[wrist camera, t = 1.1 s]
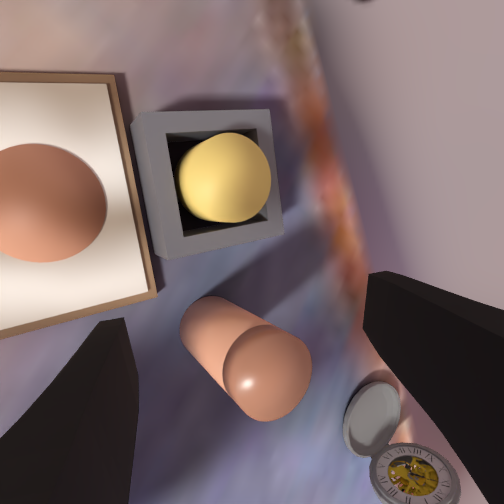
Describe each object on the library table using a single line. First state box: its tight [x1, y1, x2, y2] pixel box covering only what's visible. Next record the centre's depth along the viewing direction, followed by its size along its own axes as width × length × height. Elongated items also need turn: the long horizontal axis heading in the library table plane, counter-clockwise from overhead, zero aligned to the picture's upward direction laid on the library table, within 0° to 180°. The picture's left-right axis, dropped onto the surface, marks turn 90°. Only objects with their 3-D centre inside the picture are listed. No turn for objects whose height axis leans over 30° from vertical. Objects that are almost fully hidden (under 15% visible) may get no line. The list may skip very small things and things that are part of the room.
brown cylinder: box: [180, 296, 312, 421], centre depth 19 cm, size 4×4×8 cm
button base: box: [130, 109, 284, 260], centre depth 20 cm, size 7×7×3 cm
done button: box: [174, 133, 271, 223], centre depth 18 cm, size 4×4×3 cm
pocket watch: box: [343, 381, 461, 504], centre depth 27 cm, size 8×8×10 cm
